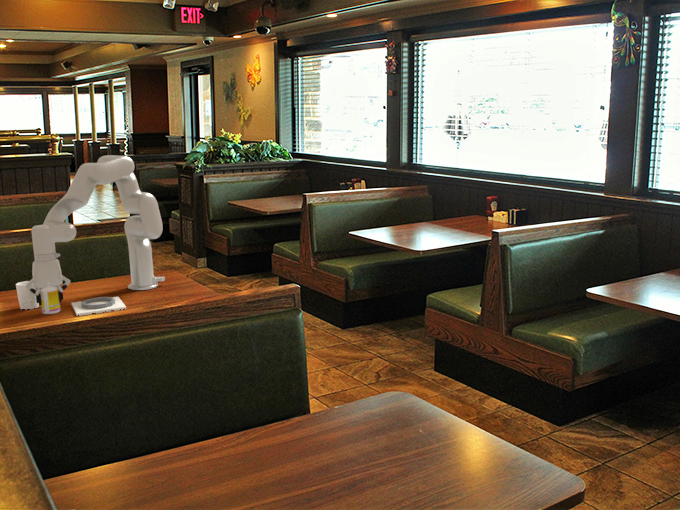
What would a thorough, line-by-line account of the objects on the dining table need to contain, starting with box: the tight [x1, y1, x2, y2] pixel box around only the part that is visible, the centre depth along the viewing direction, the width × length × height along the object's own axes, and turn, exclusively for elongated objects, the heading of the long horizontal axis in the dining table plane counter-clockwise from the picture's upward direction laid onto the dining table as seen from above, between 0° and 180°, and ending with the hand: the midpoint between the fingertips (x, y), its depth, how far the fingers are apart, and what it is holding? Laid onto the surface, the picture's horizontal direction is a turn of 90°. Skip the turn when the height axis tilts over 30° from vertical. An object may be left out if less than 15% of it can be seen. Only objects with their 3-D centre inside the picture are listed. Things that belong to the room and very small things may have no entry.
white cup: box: [15, 280, 40, 311], centre depth 261 cm, size 8×8×10 cm
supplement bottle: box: [39, 282, 62, 315], centre depth 254 cm, size 7×7×13 cm
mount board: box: [71, 296, 127, 317], centre depth 261 cm, size 18×18×2 cm
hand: (50, 302), depth 254 cm, fingers closed on supplement bottle, 6 cm apart
